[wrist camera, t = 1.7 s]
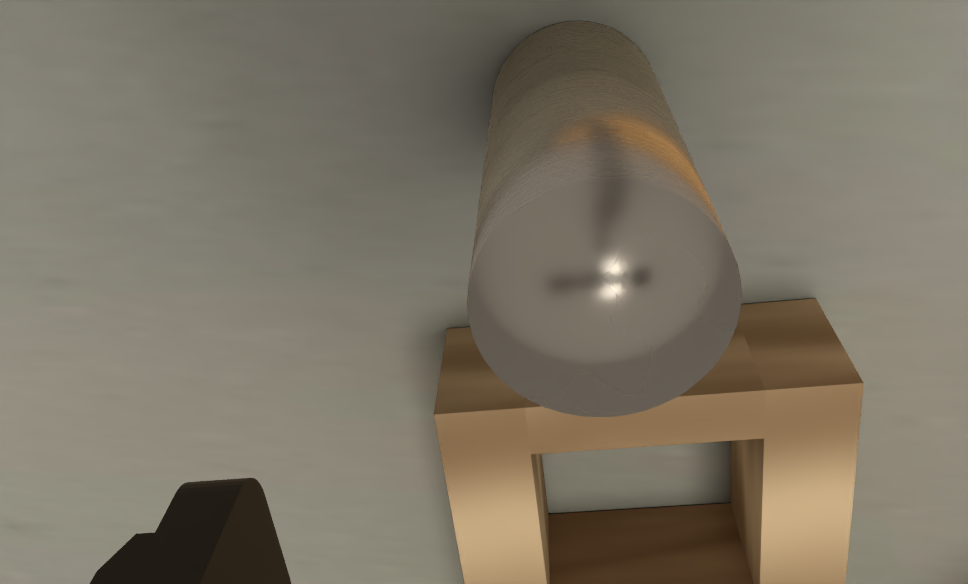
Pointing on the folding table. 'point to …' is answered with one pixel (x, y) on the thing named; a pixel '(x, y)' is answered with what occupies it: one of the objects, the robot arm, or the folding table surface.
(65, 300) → the folding table surface
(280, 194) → the folding table surface
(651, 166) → the grey rounded cylinder
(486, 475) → the frame
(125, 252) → the folding table surface
